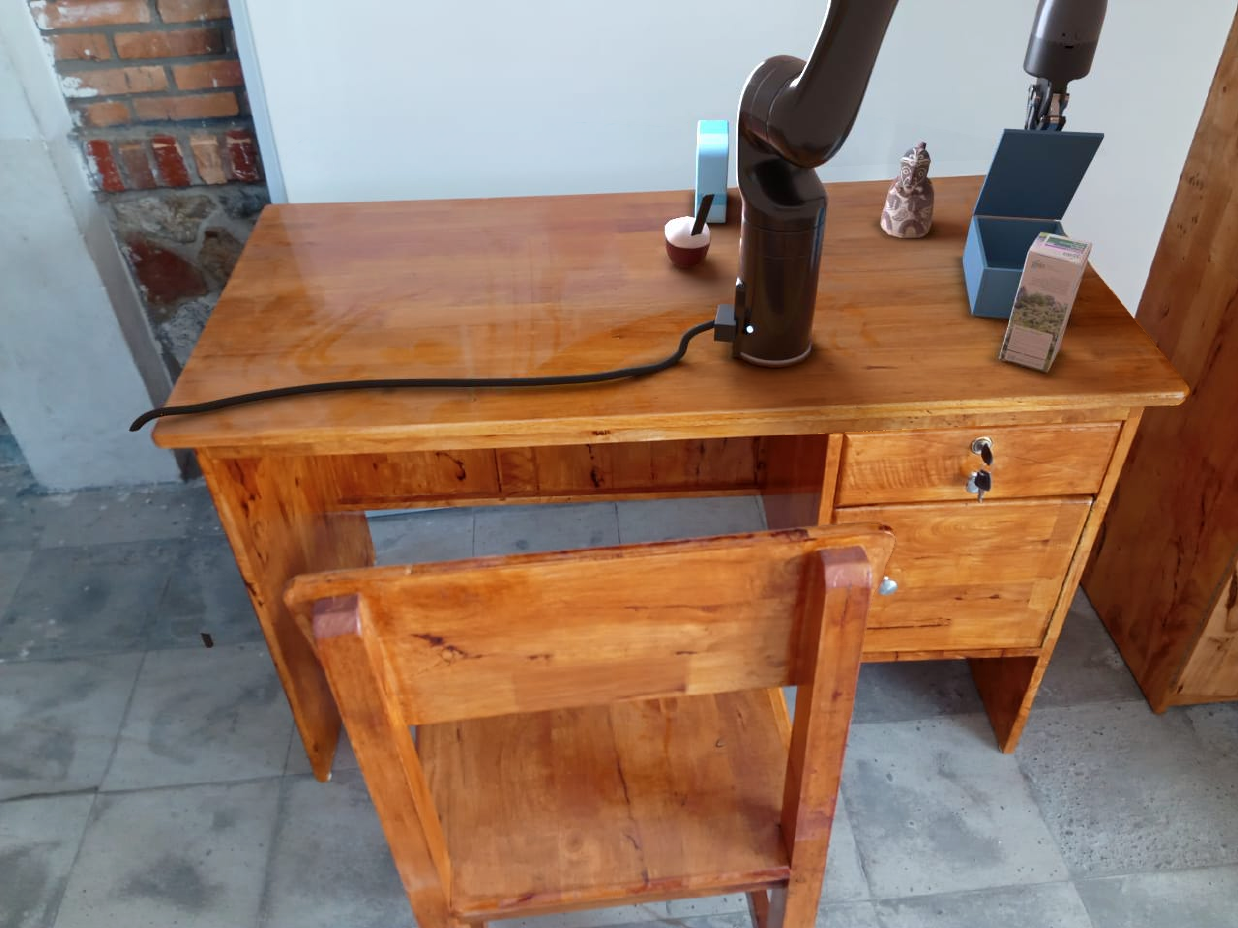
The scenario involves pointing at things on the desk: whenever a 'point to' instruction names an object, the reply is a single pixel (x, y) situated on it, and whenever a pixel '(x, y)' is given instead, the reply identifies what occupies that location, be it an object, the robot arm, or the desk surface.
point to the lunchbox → (999, 260)
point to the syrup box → (1044, 300)
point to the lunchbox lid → (1036, 173)
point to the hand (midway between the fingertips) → (1028, 173)
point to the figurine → (910, 197)
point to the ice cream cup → (689, 237)
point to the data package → (712, 167)
